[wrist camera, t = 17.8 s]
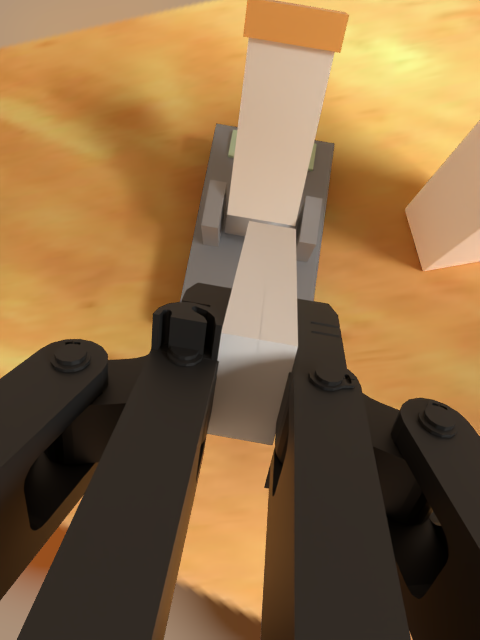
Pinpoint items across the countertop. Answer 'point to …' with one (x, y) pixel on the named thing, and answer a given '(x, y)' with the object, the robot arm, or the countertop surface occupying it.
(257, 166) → the handle
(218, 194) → the switch plate
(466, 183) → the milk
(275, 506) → the robot arm
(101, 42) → the countertop surface
